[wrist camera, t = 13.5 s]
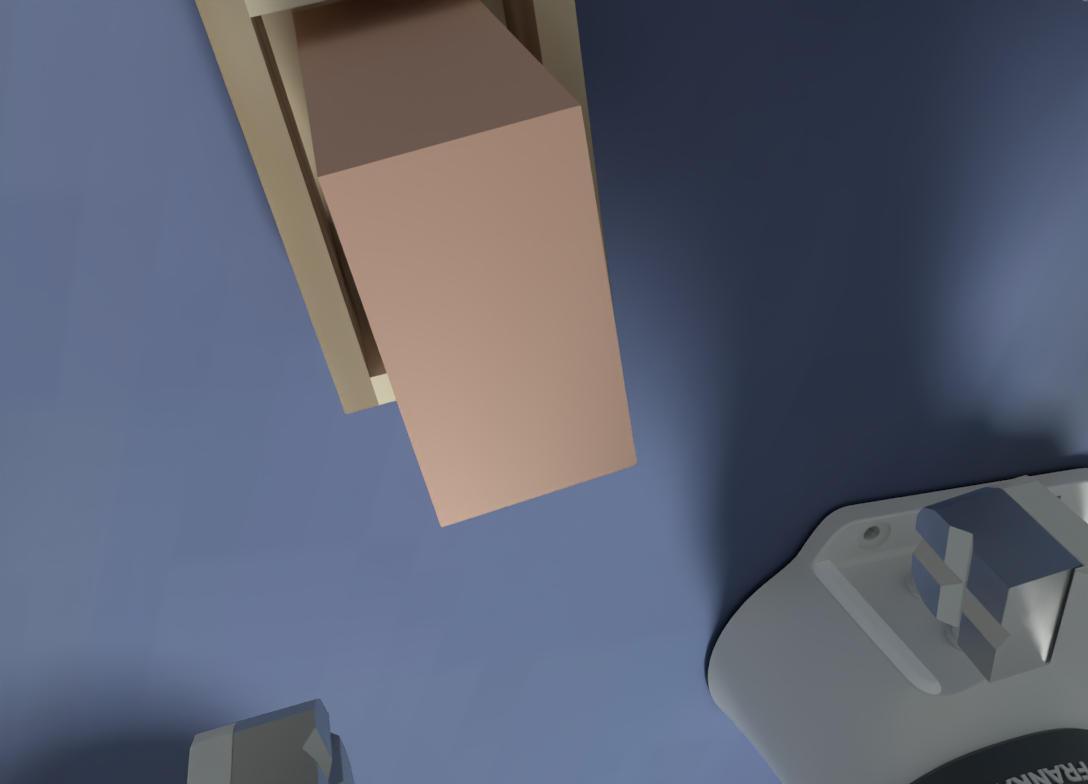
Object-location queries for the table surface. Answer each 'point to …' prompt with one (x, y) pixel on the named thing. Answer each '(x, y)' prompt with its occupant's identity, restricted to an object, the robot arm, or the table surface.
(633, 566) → the table surface
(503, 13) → the slot holder
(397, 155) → the peach block
